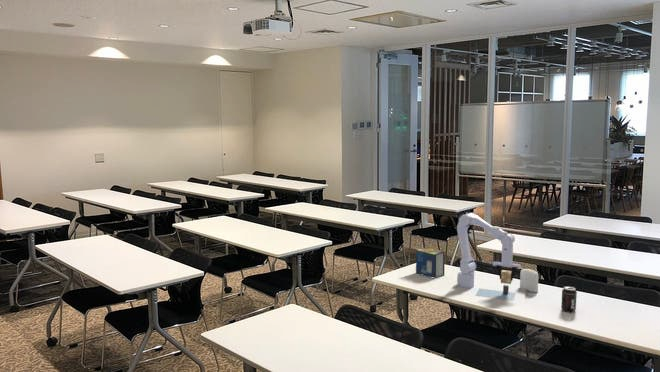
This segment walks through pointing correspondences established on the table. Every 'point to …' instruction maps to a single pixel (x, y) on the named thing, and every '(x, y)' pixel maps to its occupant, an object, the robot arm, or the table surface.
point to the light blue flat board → (495, 294)
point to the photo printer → (529, 280)
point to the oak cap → (506, 277)
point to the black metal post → (505, 289)
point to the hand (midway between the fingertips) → (506, 279)
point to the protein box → (430, 262)
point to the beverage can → (569, 299)
